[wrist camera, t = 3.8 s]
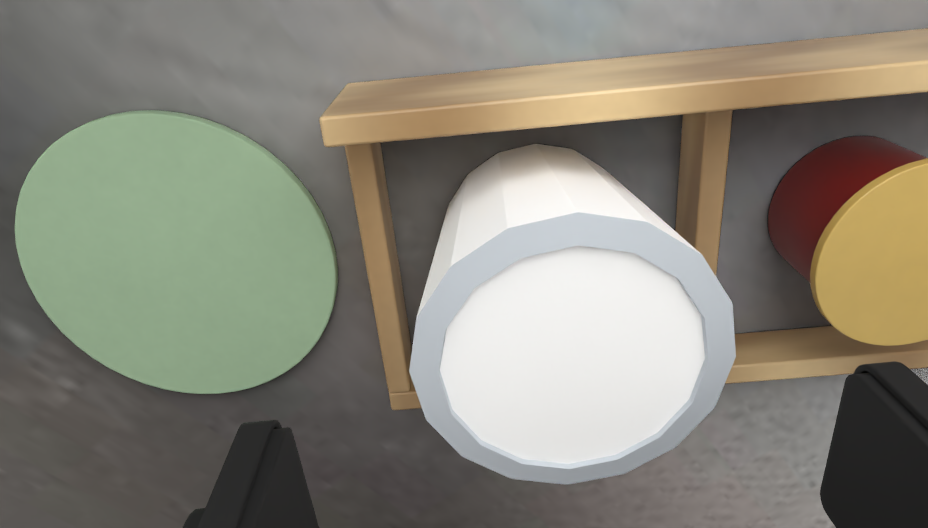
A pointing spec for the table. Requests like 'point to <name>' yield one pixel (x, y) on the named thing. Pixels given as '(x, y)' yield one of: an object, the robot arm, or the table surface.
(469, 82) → the pod caddy
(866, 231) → the coffee pod
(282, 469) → the robot arm
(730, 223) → the table surface
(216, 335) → the coaster
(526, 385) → the shot glass
